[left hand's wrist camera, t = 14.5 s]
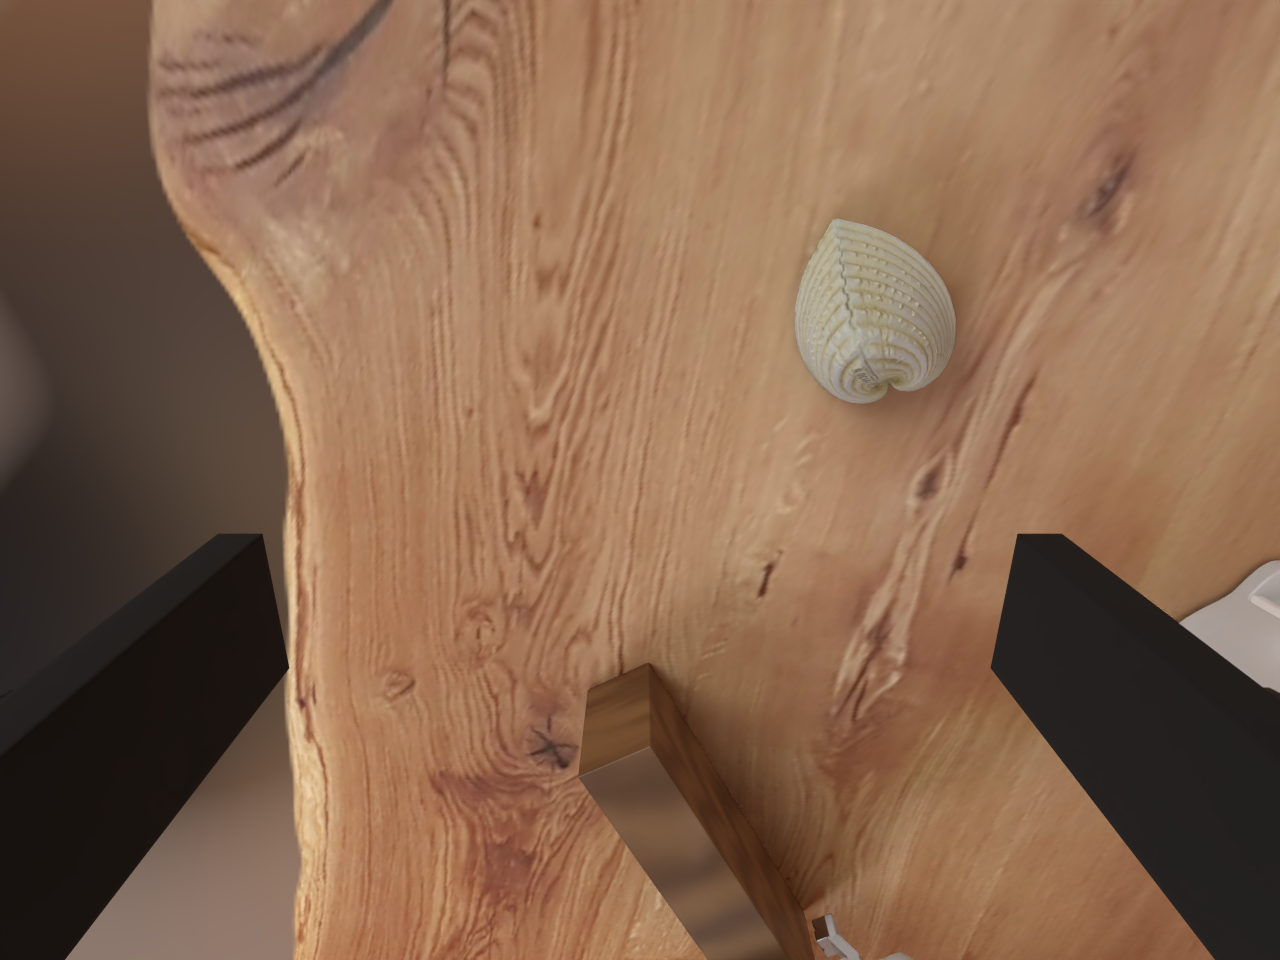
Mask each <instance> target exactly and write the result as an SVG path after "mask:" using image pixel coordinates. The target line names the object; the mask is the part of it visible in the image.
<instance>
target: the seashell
mask: <svg viewBox="0 0 1280 960" xmlns="http://www.w3.org/2000/svg"><path fill="white" fill-rule="evenodd" d="M795 331H796V338H797V344H798V348H799V351H800V353H801V356H802V358H803V361H804V363H805V365H806V367H807V369H808V370H809V372H810V373H811V375H812V376H813V377H814V378H815V379H816V381H817V382H818V383H819V384H820V385H821V386H822V387H823V388H824V389H825V390H827V391H828V392H829V393H831V394H832V395H834V396H835V397H837V398H839V399H842V400H844V401H847V402H851V403H863V404H865V403H871V402H875V401H877V400H879V399H881V398H882V397H883V396H884V395H885V394H886V393H887V391H888V387H889V385H890V384H891V385H892V386H893V387H894V388H895V389H897V390H900V391H915V390H918V389H921V388H923V387H925V386H927V385H928V384H930V383H931V382H932V381H934V380H935V379H936V378H937V377H938V376H939V375H940V374H941V372H942V371H943V370H944V368H945V367H946V365H947V363H948V361H949V359H950V357H951V354H952V352H953V348H954V342H955V335H956V317H955V312H954V308H953V304H952V301H951V297H950V294H949V292H948V290H947V288H946V286H945V284H944V282H943V280H942V279H941V277H940V276H939V274H938V273H937V271H936V270H935V269H934V268H933V266H932V265H931V264H930V263H929V262H928V261H927V260H926V259H925V258H924V257H923V256H922V255H920V254H919V253H918V252H917V251H916V250H915V249H913V248H912V247H910V246H909V245H908V244H906V243H904V242H903V241H901V240H900V239H898V238H896V237H894V236H892V235H890V234H888V233H886V232H884V231H882V230H879V229H876V228H874V227H871V226H868V225H864V224H860V223H856V222H850V221H847V220H843V219H839V218H836V219H833V220H832V222H831V224H830V225H829V227H828V229H827V230H826V232H825V234H824V236H823V237H822V239H821V240H820V241H819V243H818V246H817V249H816V251H815V252H814V254H813V255H812V258H811V259H810V261H809V263H808V265H807V267H806V270H805V272H804V274H803V277H802V281H801V284H800V289H799V293H798V296H797V302H796V307H795Z"/></svg>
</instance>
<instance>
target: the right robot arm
mask: <svg viewBox="0 0 1280 960" xmlns="http://www.w3.org/2000/svg"><path fill="white" fill-rule="evenodd" d="M1179 624H1181V625H1182V626H1183V627H1185V628H1186V629H1187V630H1189V631H1190V632H1191V633H1192V634H1194V635H1195V636H1196V637H1198V638H1199V639H1200V640H1202V641H1203V642H1204V643H1206V644H1207V645H1208V646H1210V647H1211V648H1212V649H1213V650H1215V651H1216V652H1217V653H1219V654H1220V655H1221V656H1223V657H1224V658H1225V659H1227V660H1228V661H1229V662H1231V663H1232V664H1233V665H1234V666H1236V667H1237V668H1238V669H1240V670H1241V671H1242V672H1244V673H1245V674H1246V675H1248V676H1249V677H1250V678H1251V679H1253V680H1254V681H1255V682H1257V683H1258V684H1259V685H1261V686H1262V687H1269V688H1271V689H1273V690H1275V691H1277V692H1279V693H1280V560H1274V561H1270V562H1268V563H1266V564H1264V565H1262V566H1261V567H1259V568H1258V569H1257V570H1255V571H1254V572H1253V573H1252V574H1251V575H1250V576H1248V577H1247V578H1246V579H1245V580H1244V581H1243V582H1242V583H1241V584H1240V585H1239V586H1238V587H1237V588H1236V589H1235V590H1234V591H1233V592H1232V593H1230V594H1229V595H1227V596H1225V597H1224V598H1222V599H1220V600H1218V601H1216V602H1214V603H1212V604H1210V605H1208V606H1206V607H1204V608H1202V609H1200V610H1198V611H1197V612H1195V613H1193V614H1191V615H1190V616H1188V617H1187V618H1185V619H1184V620H1182V621H1181V622H1179ZM812 924H813V927H814V929H815V932H814V933H815V937H816V941H817V943H818V944H819V946H820V948H822V949H823V952H824V954H825V955H826V957H827V958H828V957H831V956H834V955H837V954H838V955H839V956H840V957H841V959H840V960H863V959H862V958H861V956H860V955H859V953H858V952H857V951H856V950H855V949H854V948H853V947H852V946H851V945H850V944H849V943H848V942H847V941H845V940H844V939H843V935H842V932H841V929H840V927H839V924H838V922H837V921H836V919H835V918H834V916H833V914H832V913H830V914H828V915H824V916H822V917H819V918H817V919H814V920H812ZM878 960H915V959H913V958H912V957H910V956H908V955H907V954H905V953H903V952H898V953H894V954H892V955H889V956H886V957H884V958H881V959H878Z"/></svg>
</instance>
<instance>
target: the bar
mask: <svg viewBox="0 0 1280 960" xmlns="http://www.w3.org/2000/svg"><path fill="white" fill-rule="evenodd" d="M578 777H579V779H580V780H581V782H582V783H583V784H584V786H585V787H586V789H587V790H588V792H589V793H590V794H591V796H592V797H593V799H594V800H595V801H596V803H597V804H598V806H599V807H600V808H601V810H602V811H603V813H604V814H605V816H606V817H607V818H608V820H609V821H610V823H611V824H612V825H613V827H614V828H615V830H616V831H617V832H618V834H619V835H620V837H621V838H622V840H623V841H624V842H625V844H626V845H627V847H628V848H629V849H630V851H631V852H632V854H633V855H634V856H635V858H636V859H637V861H638V862H639V864H640V865H641V866H642V868H643V869H644V871H645V872H646V873H647V875H648V876H649V878H650V879H651V880H652V882H653V883H654V885H655V886H656V888H657V889H658V890H659V892H660V893H661V895H662V896H663V897H664V899H665V900H666V902H667V903H668V904H669V906H670V907H671V909H672V910H673V912H674V913H675V914H676V916H677V917H678V919H679V920H680V921H681V923H682V924H683V926H684V927H685V928H686V930H687V931H688V933H689V934H690V936H691V937H692V938H693V940H694V941H695V943H696V944H697V945H698V947H699V948H700V950H701V951H702V952H703V954H704V955H705V957H706V958H707V960H815V958H814V954H813V949H812V945H811V941H810V936H809V932H808V928H807V924H806V919H805V915H804V912H803V910H802V908H801V907H800V905H799V904H798V902H797V900H796V899H795V897H794V895H793V894H792V892H791V891H790V889H789V887H788V886H787V884H786V883H785V881H784V879H783V878H782V876H781V875H780V873H779V871H778V870H777V868H776V866H775V865H774V863H773V862H772V860H771V858H770V857H769V855H768V854H767V852H766V850H765V849H764V847H763V846H762V844H761V842H760V841H759V839H758V838H757V836H756V834H755V833H754V831H753V829H752V828H751V826H750V825H749V823H748V821H747V820H746V818H745V817H744V815H743V813H742V812H741V810H740V809H739V807H738V805H737V804H736V802H735V801H734V799H733V797H732V796H731V794H730V792H729V791H728V789H727V788H726V786H725V784H724V783H723V781H722V780H721V778H720V776H719V775H718V773H717V772H716V770H715V768H714V767H713V765H712V763H711V762H710V760H709V759H708V757H707V755H706V754H705V752H704V751H703V749H702V747H701V746H700V744H699V743H698V741H697V739H696V738H695V736H694V735H693V733H692V731H691V730H690V728H689V726H688V725H687V723H686V722H685V720H684V718H683V717H682V715H681V714H680V712H679V710H678V709H677V707H676V706H675V704H674V702H673V701H672V699H671V698H670V696H669V694H668V693H667V691H666V689H665V688H664V686H663V685H662V683H661V681H660V680H659V678H658V677H657V675H656V673H655V672H654V670H653V669H652V667H651V665H650V664H649V663H647V664H645V665H643V666H640V667H638V668H636V669H634V670H631V671H629V672H627V673H625V674H623V675H620V676H618V677H616V678H614V679H611V680H609V681H607V682H605V683H603V684H600V685H598V686H596V687H594V688H591V689H589V690H588V693H587V702H586V712H585V721H584V730H583V739H582V748H581V758H580V767H579V776H578Z"/></svg>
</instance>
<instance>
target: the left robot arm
mask: <svg viewBox="0 0 1280 960" xmlns="http://www.w3.org/2000/svg"><path fill="white" fill-rule="evenodd" d="M288 669H289V664H288V659H287V654H286V649H285V644H284V639H283V634H282V629H281V624H280V619H279V614H278V609H277V604H276V599H275V594H274V589H273V584H272V579H271V574H270V570H269V565H268V560H267V554H266V549H265V545H264V540H263V535H262V534H217V535H216V536H215V537H213V538H212V539H211V540H209V541H208V542H207V543H206V544H204V545H203V546H202V547H200V548H199V549H198V550H196V551H195V552H194V553H192V554H191V555H190V556H188V557H187V558H186V559H185V560H183V561H182V562H181V563H179V564H178V565H177V566H175V567H174V568H173V569H171V570H170V571H169V572H168V573H166V574H165V575H164V576H162V577H161V578H160V579H158V580H157V581H156V582H154V583H153V584H152V585H150V586H149V587H148V588H147V589H145V590H144V591H143V592H141V593H140V594H139V595H137V596H136V597H135V598H133V599H132V600H131V601H130V602H128V603H127V604H126V605H124V606H123V607H122V608H120V609H119V610H118V611H116V612H115V613H114V614H112V615H111V616H110V617H109V618H107V619H106V620H105V621H103V622H102V623H101V624H99V625H98V626H97V627H95V628H94V629H93V630H91V631H90V632H89V633H88V634H86V635H85V636H84V637H82V638H81V639H80V640H78V641H77V642H76V643H74V644H73V645H72V646H71V647H69V648H68V649H67V650H65V651H64V652H63V653H61V654H60V655H59V656H57V657H56V658H55V659H53V660H52V661H51V662H50V663H48V664H47V665H46V666H44V667H43V668H42V669H40V670H39V671H38V672H36V673H35V674H34V675H32V676H31V677H30V678H29V679H27V680H26V681H25V682H23V683H22V684H21V685H19V686H18V687H17V688H15V689H14V690H11V691H9V692H7V693H5V694H3V695H1V696H0V960H65V959H66V958H67V956H68V955H69V954H70V952H71V951H72V950H73V949H74V947H75V946H76V945H77V943H78V942H79V941H80V939H81V938H82V937H83V935H84V934H85V933H86V932H87V930H88V929H89V928H90V926H91V925H92V924H93V922H94V921H95V920H96V919H97V917H98V916H99V915H100V913H101V912H102V911H103V910H104V908H105V907H106V906H107V904H108V903H109V902H110V900H111V899H112V898H113V897H114V895H115V894H116V893H117V891H118V890H119V889H120V887H121V886H122V885H123V884H124V882H125V881H126V880H127V878H128V877H129V876H130V874H131V873H132V872H133V871H134V869H135V868H136V867H137V865H138V864H139V863H140V861H141V860H142V859H143V857H144V856H145V855H146V854H147V852H148V851H149V850H150V848H151V847H152V846H153V845H154V843H155V842H156V841H157V839H158V838H159V837H160V835H161V834H162V833H163V832H164V830H165V829H166V828H167V826H168V825H169V824H170V822H171V821H172V820H173V819H174V817H175V816H176V815H177V813H178V812H179V811H180V809H181V808H182V807H183V805H184V804H185V803H186V802H187V800H188V799H189V798H190V796H191V795H192V794H193V792H194V791H195V790H196V789H197V787H198V786H199V785H200V783H201V782H202V781H203V779H204V778H205V777H206V776H207V774H208V773H209V772H210V770H211V769H212V768H213V766H214V765H215V764H216V763H217V761H218V760H219V759H220V757H221V756H222V755H223V753H224V752H225V751H226V750H227V748H228V747H229V746H230V744H231V743H232V742H233V741H234V739H235V738H236V737H237V735H238V734H239V733H240V731H241V730H242V729H243V727H244V726H245V725H246V724H247V722H248V721H249V720H250V718H251V717H252V716H253V715H254V713H255V712H256V711H257V709H258V708H259V707H260V705H261V704H262V703H263V702H264V700H265V699H266V698H267V696H268V695H269V694H270V692H271V691H272V690H273V689H274V687H275V686H276V685H277V683H278V682H279V681H280V679H281V678H282V677H283V676H284V674H285V673H286V672H287V670H288ZM991 669H992V670H993V672H994V673H995V674H996V676H997V677H998V678H999V679H1000V681H1001V682H1002V683H1003V685H1004V686H1005V687H1006V689H1007V690H1008V691H1009V692H1010V694H1011V695H1012V696H1013V698H1014V699H1015V700H1016V702H1017V703H1018V704H1019V705H1020V707H1021V708H1022V709H1023V711H1024V712H1025V713H1026V715H1027V716H1028V717H1029V718H1030V720H1031V721H1032V722H1033V724H1034V725H1035V726H1036V728H1037V729H1038V730H1039V731H1040V733H1041V734H1042V735H1043V737H1044V738H1045V739H1046V741H1047V742H1048V743H1049V744H1050V746H1051V747H1052V748H1053V750H1054V751H1055V752H1056V754H1057V755H1058V756H1059V757H1060V759H1061V760H1062V761H1063V763H1064V764H1065V765H1066V767H1067V768H1068V769H1069V770H1070V772H1071V773H1072V774H1073V776H1074V777H1075V778H1076V780H1077V781H1078V782H1079V783H1080V785H1081V786H1082V787H1083V789H1084V790H1085V791H1086V793H1087V794H1088V795H1089V796H1090V798H1091V799H1092V800H1093V802H1094V803H1095V804H1096V806H1097V807H1098V808H1099V809H1100V811H1101V812H1102V813H1103V815H1104V816H1105V817H1106V819H1107V820H1108V821H1109V822H1110V824H1111V825H1112V826H1113V828H1114V829H1115V830H1116V832H1117V833H1118V834H1119V835H1120V837H1121V838H1122V839H1123V841H1124V842H1125V843H1126V845H1127V846H1128V847H1129V848H1130V850H1131V851H1132V852H1133V854H1134V855H1135V856H1136V858H1137V859H1138V860H1139V861H1140V863H1141V864H1142V865H1143V867H1144V868H1145V869H1146V871H1147V872H1148V873H1149V874H1150V876H1151V877H1152V878H1153V880H1154V881H1155V882H1156V884H1157V885H1158V886H1159V887H1160V889H1161V890H1162V891H1163V893H1164V894H1165V895H1166V897H1167V898H1168V899H1169V900H1170V902H1171V903H1172V904H1173V906H1174V907H1175V908H1176V910H1177V911H1178V912H1179V913H1180V915H1181V916H1182V917H1183V919H1184V920H1185V921H1186V923H1187V924H1188V925H1189V926H1190V928H1191V929H1192V930H1193V932H1194V933H1195V934H1196V936H1197V937H1198V938H1199V939H1200V941H1201V942H1202V943H1203V945H1204V946H1205V947H1206V949H1207V950H1208V951H1209V952H1210V954H1211V955H1212V956H1213V958H1214V959H1215V960H1280V693H1279V692H1277V691H1275V690H1273V689H1271V688H1269V687H1262V686H1261V685H1259V684H1258V683H1257V682H1255V681H1254V680H1253V679H1251V678H1250V677H1249V676H1248V675H1246V674H1245V673H1244V672H1242V671H1241V670H1240V669H1238V668H1237V667H1236V666H1234V665H1233V664H1232V663H1231V662H1229V661H1228V660H1227V659H1225V658H1224V657H1223V656H1221V655H1220V654H1219V653H1217V652H1216V651H1215V650H1213V649H1212V648H1211V647H1210V646H1208V645H1207V644H1206V643H1204V642H1203V641H1202V640H1200V639H1199V638H1198V637H1196V636H1195V635H1194V634H1192V633H1191V632H1190V631H1189V630H1187V629H1186V628H1185V627H1183V626H1182V625H1181V624H1179V623H1178V622H1177V621H1175V620H1174V619H1173V618H1172V617H1170V616H1169V615H1168V614H1166V613H1165V612H1164V611H1162V610H1161V609H1160V608H1158V607H1157V606H1156V605H1154V604H1153V603H1152V602H1151V601H1149V600H1148V599H1147V598H1145V597H1144V596H1143V595H1141V594H1140V593H1139V592H1137V591H1136V590H1135V589H1133V588H1132V587H1131V586H1130V585H1128V584H1127V583H1126V582H1124V581H1123V580H1122V579H1120V578H1119V577H1118V576H1116V575H1115V574H1114V573H1113V572H1111V571H1110V570H1109V569H1107V568H1106V567H1105V566H1103V565H1102V564H1101V563H1099V562H1098V561H1097V560H1095V559H1094V558H1093V557H1092V556H1090V555H1089V554H1088V553H1086V552H1085V551H1084V550H1082V549H1081V548H1080V547H1078V546H1077V545H1076V544H1074V543H1073V542H1072V541H1071V540H1069V539H1068V538H1067V537H1065V536H1064V535H1063V534H1018V535H1017V540H1016V544H1015V549H1014V554H1013V559H1012V564H1011V569H1010V574H1009V579H1008V584H1007V589H1006V594H1005V599H1004V604H1003V609H1002V614H1001V619H1000V624H999V629H998V634H997V639H996V644H995V649H994V654H993V659H992V664H991Z"/></svg>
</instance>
